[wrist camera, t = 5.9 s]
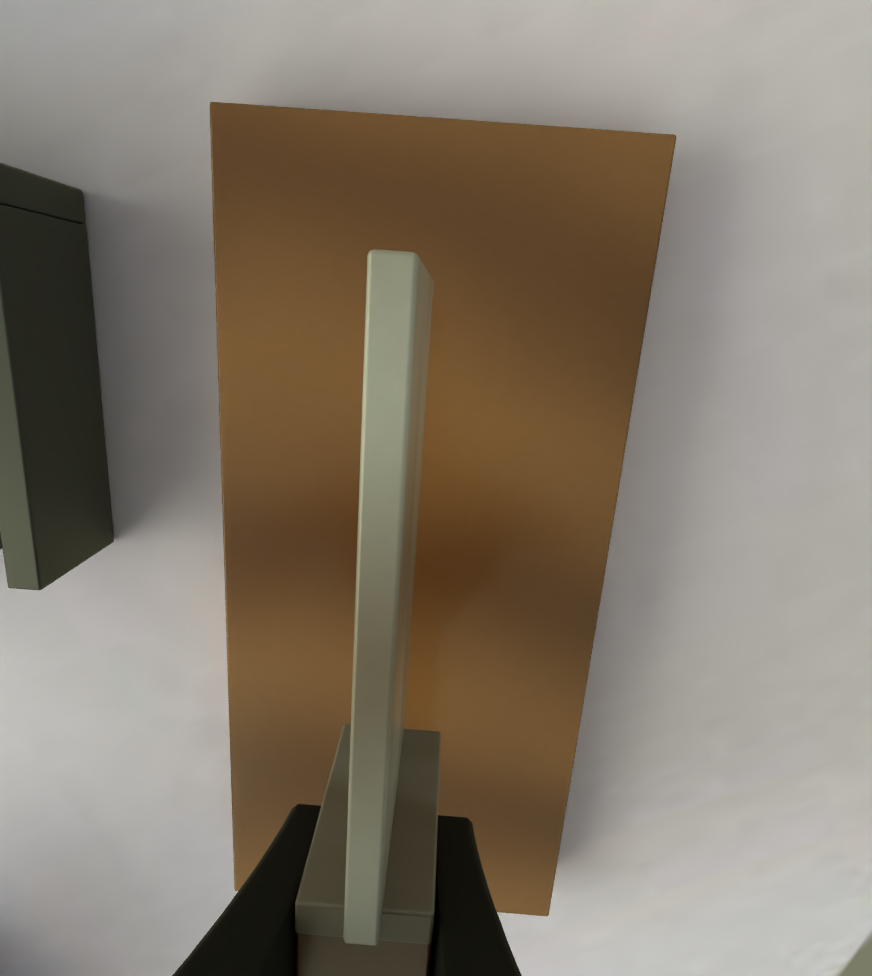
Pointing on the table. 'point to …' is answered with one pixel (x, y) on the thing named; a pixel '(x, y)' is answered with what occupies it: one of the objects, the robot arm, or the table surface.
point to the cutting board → (427, 446)
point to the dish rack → (48, 386)
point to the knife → (381, 677)
